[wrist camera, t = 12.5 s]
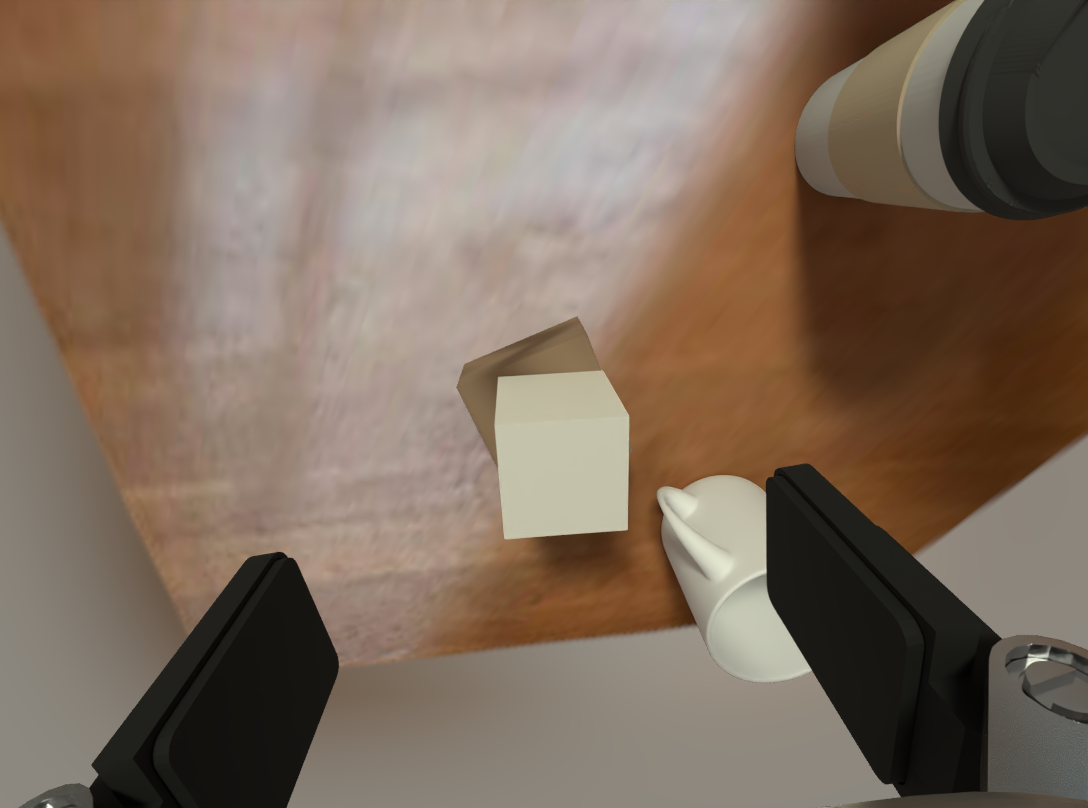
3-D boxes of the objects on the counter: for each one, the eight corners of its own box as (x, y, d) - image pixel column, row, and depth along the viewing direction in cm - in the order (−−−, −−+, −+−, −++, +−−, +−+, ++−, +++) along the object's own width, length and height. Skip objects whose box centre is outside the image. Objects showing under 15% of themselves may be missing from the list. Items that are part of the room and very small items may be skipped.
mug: (685, 420, 36) (750, 502, 26) (792, 513, 39) (886, 617, 29) (602, 503, 38) (632, 607, 28) (710, 585, 41) (772, 705, 31)
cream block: (603, 370, 29) (629, 416, 23) (603, 463, 32) (627, 530, 25) (498, 376, 29) (494, 425, 23) (505, 470, 31) (504, 539, 25)
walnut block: (576, 315, 33) (586, 332, 29) (618, 420, 36) (633, 451, 31) (464, 363, 34) (456, 387, 29) (513, 461, 37) (513, 498, 32)
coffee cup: (961, 105, 30) (1356, 12, 16) (854, 244, 32) (1113, 272, 18) (849, 4, 28) (1187, -204, 14) (744, 161, 30) (940, 120, 16)
